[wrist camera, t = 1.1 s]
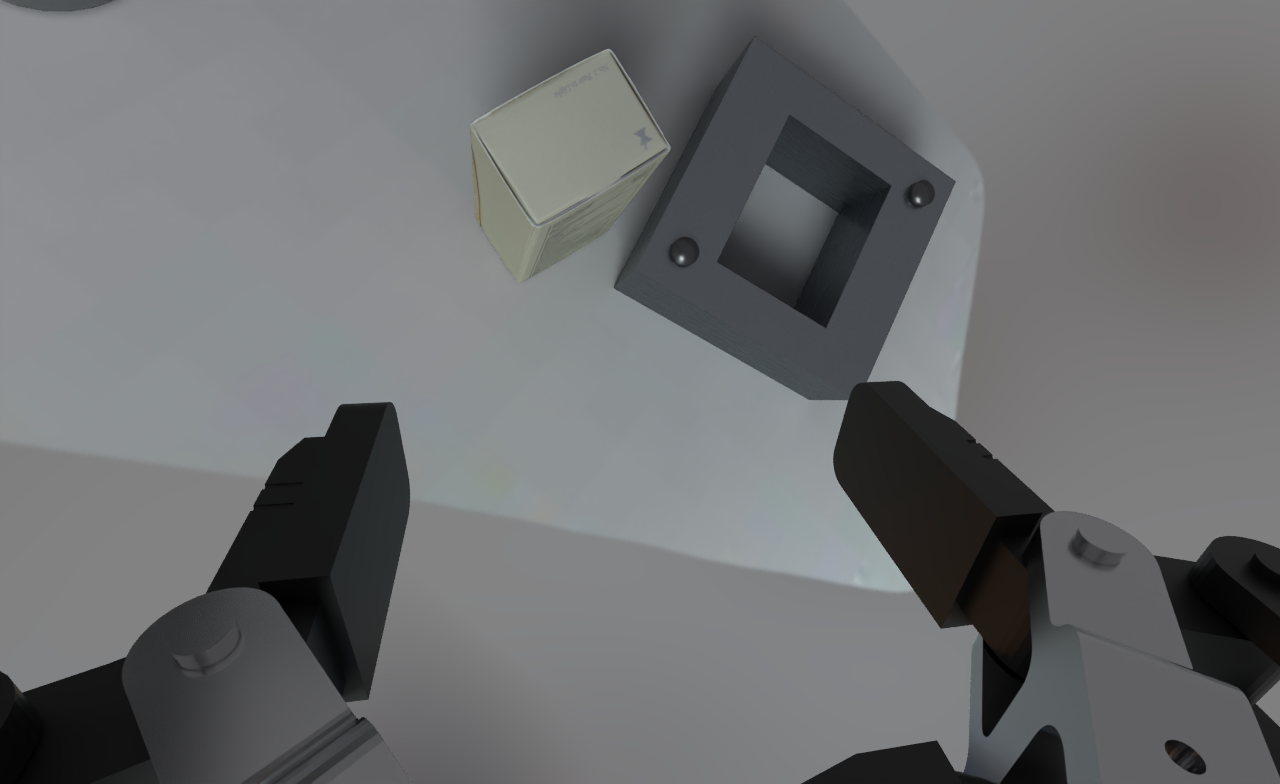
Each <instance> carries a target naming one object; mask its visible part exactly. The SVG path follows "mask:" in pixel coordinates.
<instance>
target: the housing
mask: <svg viewBox="0 0 1280 784" xmlns="http://www.w3.org/2000/svg"><path fill="white" fill-rule="evenodd" d="M765 164H767V165H768V166H770V167H771V168H773V169H774V170H776V171H777V172H779V173H780V174H782V175H783V176H785V177H786V178H788V179H789V180H791V181H792V182H794V183H795V184H797V185H798V186H800V187H801V188H803V189H804V190H806V191H807V192H809V193H810V194H812V195H813V196H815V197H816V198H818V199H819V200H820V201H822V202H823V203H825V204H826V205H828V206H829V207H831V208H832V209H834V210H835V211H837V212H838V213H839V214H838V216H837V219H836V221H835V223H834V225H833V227H832V229H831V231H830V233H829V236H828V238H827V240H826V242H825V244H824V246H823V248H822V251H821V253H820V255H819V257H818V259H817V261H816V263H815V265H814V268H813V270H812V272H811V274H810V276H809V278H808V280H807V283H806V285H805V287H804V289H803V291H802V293H801V295H800V297H799V300H798V302H797V304H796V306H795V308H794V309H793V308H792V307H790V306H788V305H787V304H785V303H783V302H782V301H780V300H778V299H777V298H775V297H774V296H772V295H770V294H769V293H767V292H765V291H764V290H762V289H760V288H759V287H757V286H755V285H754V284H752V283H751V282H749V281H747V280H746V279H744V278H742V277H741V276H739V275H737V274H736V273H734V272H732V271H731V270H729V269H728V268H726V267H724V266H723V265H721V264H719V263H718V262H717V260H718V258H719V256H720V254H721V252H722V250H723V248H724V246H725V244H726V242H727V240H728V238H729V236H730V234H731V232H732V230H733V228H734V226H735V224H736V222H737V220H738V218H739V216H740V214H741V212H742V210H743V208H744V206H745V204H746V202H747V200H748V197H749V195H750V193H751V191H752V189H753V187H754V185H755V183H756V181H757V179H758V177H759V175H760V173H761V171H762V169H763V167H764V165H765ZM955 182H956V181H954V180H953V179H952V178H950V177H949V176H948V175H946V174H945V173H943V172H942V171H941V170H939V169H938V168H936V167H935V166H934V165H932V164H931V163H930V162H928V161H927V160H925V159H924V158H923V157H921V156H920V155H919V154H917V153H916V152H914V151H913V150H912V149H910V148H909V147H907V146H906V145H905V144H903V143H902V142H901V141H899V140H898V139H896V138H895V137H894V136H892V135H891V134H889V133H888V132H887V131H885V130H884V129H883V128H881V127H880V126H878V125H877V124H876V123H874V122H873V121H872V120H870V119H869V118H867V117H866V116H865V115H863V114H862V113H860V112H859V111H858V110H856V109H855V108H854V107H852V106H851V105H849V104H848V103H847V102H845V101H844V100H843V99H841V98H840V97H838V96H837V95H836V94H834V93H833V92H831V91H830V90H829V89H827V88H826V87H825V86H823V85H822V84H820V83H819V82H818V81H816V80H815V79H813V78H812V77H811V76H809V75H808V74H807V73H805V72H804V71H802V70H801V69H800V68H798V67H797V66H796V65H794V64H793V63H791V62H790V61H789V60H787V59H786V58H784V57H783V56H782V55H780V54H779V53H778V52H776V51H775V50H773V49H772V48H771V47H769V46H768V45H767V44H765V43H764V42H762V41H761V40H760V39H758V38H757V37H754V38H753V39H752V41H751V42H750V43H749V45H748V46H747V47H746V49H745V50H744V51H743V53H742V54H741V55H740V57H739V58H738V59H737V61H736V62H735V63H734V65H733V66H732V67H731V69H730V70H729V71H728V73H727V74H726V75H725V77H724V78H723V79H722V81H721V82H720V83H719V85H718V86H717V88H716V90H715V92H714V94H713V96H712V98H711V100H710V102H709V104H708V106H707V108H706V110H705V112H704V114H703V115H702V117H701V119H700V121H699V123H698V125H697V127H696V129H695V131H694V133H693V135H692V137H691V139H690V141H689V143H688V145H687V147H686V148H685V150H684V152H683V154H682V156H681V158H680V160H679V162H678V164H677V166H676V168H675V170H674V172H673V174H672V176H671V178H670V180H669V181H668V183H667V185H666V187H665V189H664V191H663V193H662V195H661V197H660V199H659V201H658V203H657V205H656V207H655V209H654V211H653V213H652V214H651V216H650V218H649V220H648V222H647V224H646V226H645V228H644V230H643V232H642V234H641V236H640V238H639V240H638V242H637V244H636V246H635V247H634V249H633V251H632V253H631V255H630V257H629V259H628V261H627V263H626V265H625V267H624V269H623V271H622V273H621V275H620V277H619V279H618V280H617V282H616V284H615V286H614V288H615V289H616V290H618V291H620V292H622V293H623V294H625V295H627V296H629V297H630V298H632V299H634V300H636V301H637V302H639V303H641V304H643V305H644V306H646V307H648V308H650V309H651V310H653V311H655V312H657V313H658V314H660V315H662V316H664V317H665V318H667V319H669V320H671V321H672V322H674V323H676V324H678V325H679V326H681V327H683V328H685V329H686V330H688V331H690V332H692V333H693V334H695V335H697V336H699V337H700V338H702V339H704V340H706V341H707V342H709V343H711V344H713V345H714V346H716V347H718V348H720V349H721V350H723V351H725V352H727V353H728V354H730V355H732V356H734V357H735V358H737V359H739V360H741V361H742V362H744V363H746V364H748V365H749V366H751V367H753V368H755V369H756V370H758V371H760V372H762V373H763V374H765V375H767V376H769V377H770V378H772V379H774V380H776V381H777V382H779V383H781V384H783V385H784V386H786V387H788V388H790V389H791V390H793V391H795V392H797V393H798V394H800V395H802V396H804V397H805V398H807V399H809V400H849V397H850V394H851V391H852V389H853V388H854V387H855V386H856V385H857V384H859V383H864V382H867V380H868V378H869V376H870V374H871V371H872V369H873V367H874V365H875V362H876V360H877V358H878V356H879V353H880V351H881V349H882V347H883V344H884V342H885V340H886V338H887V335H888V333H889V331H890V328H891V326H892V324H893V322H894V319H895V317H896V315H897V313H898V310H899V308H900V306H901V304H902V301H903V299H904V297H905V295H906V292H907V290H908V288H909V286H910V283H911V281H912V279H913V277H914V274H915V272H916V270H917V268H918V265H919V263H920V261H921V259H922V256H923V254H924V252H925V250H926V247H927V245H928V243H929V241H930V238H931V236H932V234H933V232H934V229H935V227H936V225H937V223H938V220H939V218H940V216H941V214H942V211H943V209H944V207H945V205H946V202H947V200H948V198H949V196H950V193H951V191H952V189H953V187H954V184H955Z"/></svg>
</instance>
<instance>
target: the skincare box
mask: <svg viewBox="0 0 1280 784" xmlns="http://www.w3.org/2000/svg"><path fill="white" fill-rule="evenodd" d="M470 134H471V146H472V164H473V177H474V193H475V209H476V219H477V221H478V223H479V224H480V226H481V227H482V229H483V231H484V232H485V234H486V236H487V237H488V239H489V240H490V242H491V244H492V245H493V247H494V248H495V250H496V251H497V253H498V254H499V256H500V257H501V259H502V261H503V262H504V264H505V265H506V267H507V268H508V270H509V271H510V273H511V274H512V275H513V277H514V278H515V280H516V281H517V282H518V283H522V282H524V281H526V280H527V279H529V278H531V277H533V276H535V275H536V274H538V273H540V272H542V271H543V270H545V269H547V268H548V267H550V266H552V265H553V264H555V263H557V262H559V261H560V260H562V259H564V258H565V257H567V256H568V255H570V254H572V253H573V252H575V251H577V250H578V249H580V248H582V247H583V246H585V245H586V244H588V243H590V242H591V241H593V240H594V239H596V238H597V237H599V236H601V235H602V234H604V233H605V232H607V231H608V230H609V228H610V227H611V226H612V225H613V223H614V222H615V221H616V219H617V218H618V217H619V216H620V214H621V213H622V212H623V211H624V209H625V208H626V207H627V205H628V204H629V203H630V201H631V200H632V199H633V198H634V196H635V195H636V194H637V193H638V191H639V190H640V189H641V187H642V186H643V185H644V184H645V182H646V181H647V180H648V178H649V177H650V176H651V174H652V173H653V172H654V170H655V169H656V168H657V167H658V166H659V164H660V163H661V162H662V160H663V159H664V158H665V156H666V155H667V154H668V153H669V151H670V150H671V146H670V145H669V143H668V141H667V140H666V138H665V137H664V135H663V133H662V131H661V129H660V128H659V126H658V124H657V122H656V121H655V119H654V117H653V115H652V114H651V112H650V110H649V109H648V107H647V105H646V104H645V102H644V101H643V99H642V97H641V96H640V94H639V92H638V91H637V89H636V87H635V85H634V84H633V82H632V80H631V79H630V77H629V76H628V74H627V73H626V71H625V69H624V68H623V66H622V65H621V63H620V62H619V60H618V59H617V57H616V55H615V54H614V52H613V51H612V50H611V49H606V50H603V51H601V52H599V53H597V54H594V55H592V56H591V57H589V58H586V59H584V60H582V61H580V62H578V63H576V64H574V65H572V66H570V67H568V68H567V69H565V70H563V71H561V72H559V73H557V74H555V75H553V76H551V77H550V78H548V79H546V80H544V81H542V82H541V83H539V84H537V85H535V86H534V87H532V88H529V89H528V90H526V91H524V92H523V93H521V94H519V95H517V96H516V97H514V98H512V99H510V100H508V101H506V102H505V103H503V104H502V105H500V106H498V107H496V108H494V109H493V110H491V111H489V112H487V113H485V114H484V115H482V116H481V117H479V118H478V119H476V120H474V121H472V122H471V124H470Z"/></svg>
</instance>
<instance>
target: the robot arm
mask: <svg viewBox="0 0 1280 784" xmlns="http://www.w3.org/2000/svg"><path fill="white" fill-rule="evenodd" d="M3 1H6V2H8V3H11V4H14V5H17V6H20V7H26V8H31V9H36V10H42V11H75V10H81V9H87V8H93V7H96V6H99V5H101V4H104V3H106V2H109V1H111V0H3ZM833 463H834V470H835V474H836V477H837V480H838V482H839V484H840V485H841V487H842V488H843V490H844V491H845V492H846V494H847V495H848V497H849V498H850V500H851V501H852V502H853V504H854V505H855V507H856V508H857V510H858V511H859V512H860V514H861V515H862V517H863V518H864V520H865V521H866V522H867V524H868V525H869V527H870V528H871V530H872V531H873V532H874V534H875V535H876V537H877V538H878V540H879V541H880V542H881V544H882V545H883V547H884V548H885V550H886V551H887V552H888V554H889V555H890V557H891V558H892V560H893V561H894V562H895V564H896V565H897V567H898V568H899V570H900V571H901V572H902V574H903V575H904V577H905V578H906V580H907V581H908V582H909V584H910V585H911V587H912V588H913V590H914V591H915V592H916V594H917V595H918V597H919V598H920V600H921V601H922V602H923V604H924V605H925V607H926V608H927V610H928V611H929V612H930V614H931V615H932V617H933V618H934V620H935V621H936V622H937V624H938V625H939V627H940V628H941V629H942V628H950V627H957V626H965V625H974V627H975V628H976V629H977V631H978V632H979V634H978V636H977V638H976V639H975V641H974V643H973V646H972V654H971V688H970V689H971V690H970V721H969V723H970V724H969V749H968V757H967V761H966V766H965V769H964V772H963V773H962V772H957V771H954V769H953V767H952V765H951V764H950V762H949V761H948V759H947V757H946V755H945V754H944V752H943V750H942V748H941V747H940V745H939V743H938V742H937V741H931V742H925V743H919V744H913V745H907V746H901V747H895V748H889V749H883V750H877V751H871V752H865V753H859V754H855V755H853V756H851V757H850V758H848V759H846V760H844V761H842V762H840V763H839V764H837V765H835V766H833V767H831V768H830V769H827V770H826V771H824V772H822V773H820V774H818V775H816V776H815V777H813V778H811V779H809V780H807V781H805V782H804V783H802V784H1280V727H1279V726H1278V725H1277V724H1276V723H1275V722H1274V721H1273V720H1272V719H1271V718H1270V717H1269V716H1268V715H1267V714H1266V713H1265V712H1264V711H1263V710H1262V709H1260V708H1259V707H1258V706H1257V705H1256V704H1255V703H1256V702H1257V701H1258V700H1260V699H1261V698H1262V697H1263V695H1265V694H1266V693H1267V692H1268V691H1269V690H1270V689H1271V688H1272V687H1273V686H1274V685H1275V684H1276V683H1277V682H1278V681H1279V680H1280V549H1279V548H1276V547H1274V546H1271V545H1269V544H1266V543H1263V542H1260V541H1256V540H1253V539H1248V538H1243V537H1236V536H1224V537H1219V538H1216V539H1215V540H1213V541H1212V542H1211V544H1210V545H1209V546H1208V547H1207V549H1206V550H1205V551H1204V553H1203V554H1202V555H1201V556H1200V558H1199V559H1198V560H1197V562H1192V561H1186V560H1180V559H1173V558H1166V557H1160V556H1154V555H1152V553H1151V552H1150V551H1149V550H1148V549H1147V548H1146V547H1145V546H1144V545H1143V544H1142V543H1141V542H1139V541H1138V540H1137V539H1136V538H1134V537H1133V536H1132V535H1130V534H1129V533H1127V532H1125V531H1124V530H1122V529H1120V528H1119V527H1117V526H1115V525H1113V524H1111V523H1108V522H1106V521H1104V520H1102V519H1099V518H1096V517H1093V516H1090V515H1086V514H1083V513H1077V512H1070V511H1058V512H1055V511H1054V510H1052V509H1051V508H1050V507H1049V506H1048V505H1047V504H1046V503H1045V502H1044V501H1043V500H1042V499H1040V498H1039V497H1038V496H1037V495H1036V494H1035V493H1034V492H1033V491H1032V490H1031V489H1029V488H1028V487H1027V486H1026V485H1025V484H1024V483H1023V482H1022V481H1020V479H1019V478H1017V477H1016V476H1015V475H1014V474H1013V473H1012V472H1011V471H1010V470H1009V469H1008V468H1006V467H1005V466H1004V465H1003V464H1002V463H1001V462H1000V461H999V460H998V459H993V458H992V454H991V453H990V452H989V451H988V450H987V449H986V448H984V447H983V446H982V445H981V444H980V443H978V444H976V439H974V438H973V437H972V436H971V435H970V434H969V433H968V432H967V431H966V430H965V429H964V428H962V427H961V426H960V425H959V424H958V423H957V422H956V421H954V420H952V419H951V418H949V417H947V416H945V415H943V414H942V413H940V412H938V411H936V410H934V409H933V408H931V407H929V406H928V405H927V404H926V403H925V402H924V401H923V400H922V399H921V398H920V397H919V396H917V395H916V394H915V393H914V392H913V391H912V390H911V389H910V388H909V387H908V386H907V385H906V384H904V383H903V382H900V381H887V382H864V383H859V384H857V385H856V386H855V387H854V388H853V389H852V391H851V394H850V397H849V400H848V404H847V407H846V411H845V414H844V418H843V421H842V425H841V428H840V432H839V435H838V439H837V442H836V446H835V450H834V456H833ZM409 507H410V485H409V477H408V471H407V466H406V461H405V455H404V450H403V445H402V439H401V434H400V429H399V423H398V418H397V413H396V410H395V407H394V405H393V403H391V402H383V403H360V404H342V405H340V406H339V407H338V409H337V411H336V413H335V415H334V418H333V420H332V422H331V424H330V426H329V428H328V431H327V433H326V435H325V437H310V438H304V439H303V440H301V441H300V442H299V443H298V444H296V445H295V446H294V447H293V448H292V449H290V450H289V451H288V452H287V453H286V454H284V455H283V456H282V457H281V458H280V459H278V461H277V463H276V465H275V467H274V469H273V470H272V472H271V474H270V476H269V478H268V480H267V481H266V483H265V489H263V490H262V491H261V492H260V494H259V496H258V498H257V500H256V502H255V504H254V510H253V511H250V513H249V515H248V516H247V518H246V520H245V522H244V524H243V526H242V528H241V529H240V531H239V533H238V535H237V537H236V539H235V541H234V542H233V544H232V546H231V548H230V550H229V552H228V553H227V555H226V557H225V559H224V561H223V563H222V564H221V566H220V568H219V570H218V572H217V574H216V576H215V577H214V579H213V581H212V583H211V585H210V587H209V588H208V590H207V592H206V594H204V595H201V596H198V597H196V598H194V599H192V600H189V601H187V602H185V603H183V604H181V605H179V606H177V607H176V608H174V609H172V610H171V611H169V612H168V613H166V614H165V615H163V616H162V617H160V618H159V619H158V620H157V621H156V622H154V623H153V624H152V625H151V626H150V627H149V628H148V629H147V630H146V631H145V632H144V633H143V634H142V635H141V636H140V637H139V638H138V640H137V641H136V642H135V644H134V645H133V646H132V648H131V649H130V651H129V653H128V655H127V657H125V658H123V659H120V660H117V661H114V662H112V663H109V664H106V665H103V666H100V667H98V668H94V669H91V670H88V671H86V672H83V673H79V674H77V675H74V676H71V677H68V678H65V679H62V680H59V681H56V682H53V683H50V684H47V685H44V686H41V687H38V688H35V689H32V690H29V691H26V692H23V693H22V692H21V691H20V690H19V689H18V687H17V686H16V685H15V684H14V683H13V682H12V680H11V679H10V678H9V677H8V676H7V675H6V674H4V673H2V672H1V671H0V784H414V783H413V781H412V780H411V779H410V777H409V776H408V774H407V773H406V772H405V770H404V769H403V767H402V765H401V764H400V763H399V761H398V760H397V758H396V757H395V755H394V754H393V752H391V750H390V748H389V747H388V746H387V744H386V742H385V741H384V740H383V738H382V737H381V735H380V734H379V732H378V731H377V730H376V729H375V727H374V726H373V725H372V724H371V723H370V722H369V721H368V720H367V719H366V718H364V717H362V718H361V719H359V720H358V719H357V718H356V716H355V715H354V714H353V713H352V711H351V710H350V708H349V707H348V705H347V704H346V702H352V701H360V700H368V699H369V694H370V690H371V685H372V681H373V676H374V671H375V666H376V662H377V658H378V653H379V648H380V644H381V639H382V635H383V630H384V625H385V621H386V616H387V612H388V607H389V603H390V598H391V593H392V589H393V583H394V579H395V574H396V570H397V566H398V561H399V557H400V552H401V547H402V543H403V538H404V534H405V529H406V525H407V520H408V515H409Z"/></svg>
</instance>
